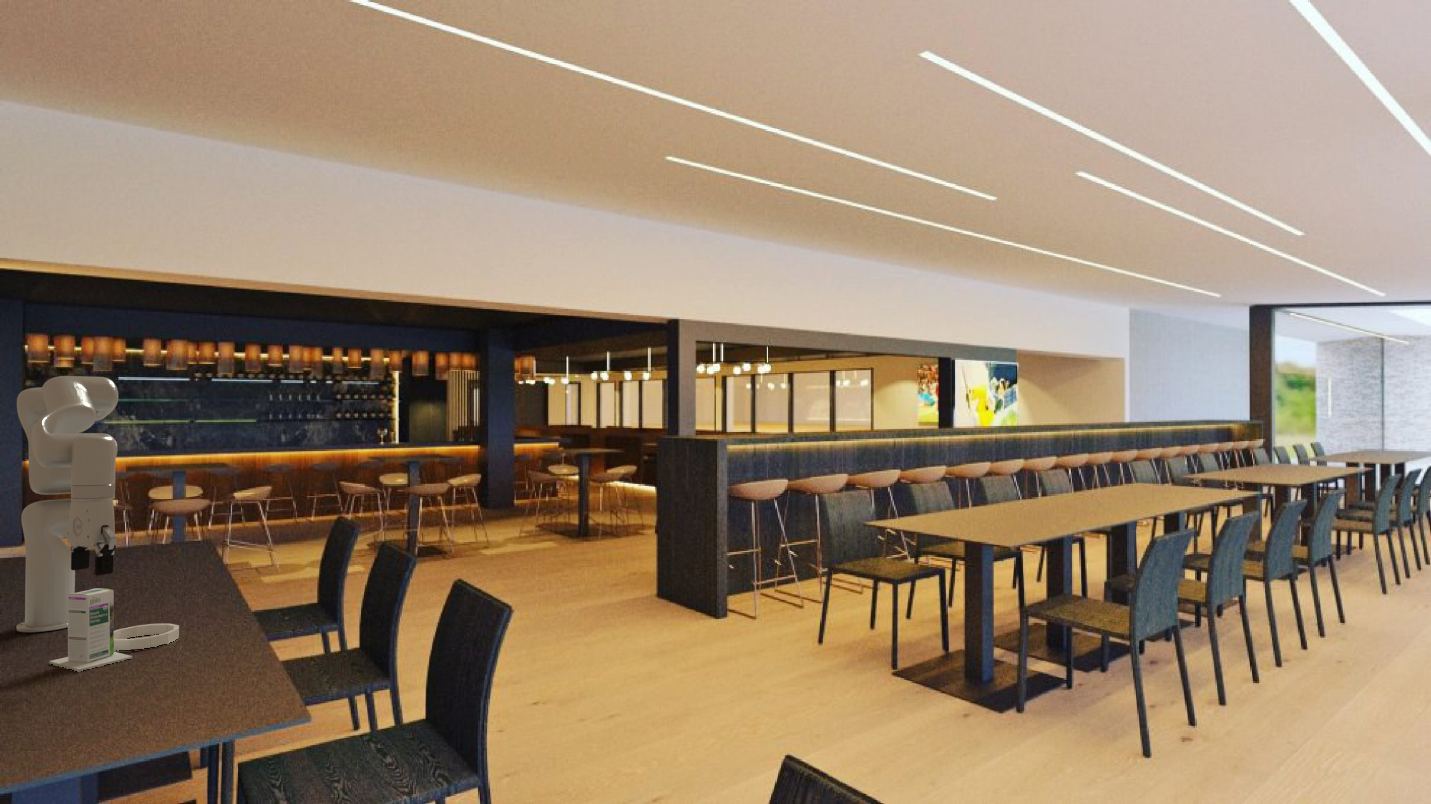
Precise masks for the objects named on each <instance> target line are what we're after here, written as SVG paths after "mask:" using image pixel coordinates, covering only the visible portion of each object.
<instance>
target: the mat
mask: <svg viewBox="0 0 1431 804" xmlns="http://www.w3.org/2000/svg"><path fill="white" fill-rule="evenodd" d="M131 658H132V659H133V655H130V654H129V655H128V654H125V653H120V652H119V651H114V654H113V655H112V656H108V657H105V658H101V659H98V660H94V661H91V662H89V663H83V662H73V661H69V660H68V656H66V657H61V658H57V659H52V660H49V661H48V662H49V665H51V664H53V665H52V666H54V667H58V666H59V668H62V667H64V668H63V669H65V668H66V669H65V670H68V669H72V670H74V671H73V672H75V671H77V672H76V673H82V672H84V671H83V670H86V669H90V670H93V669H92V668H94V669H96V668H95V667H98V668H102V667H105V666H104V665H106V664H110V665H113V664H112V663H114V664H116V663H115V662H118V663H121V662H120V661H122V662H125V661H124V660H126V659H131ZM132 659H131V660H132ZM126 661H127V660H126ZM101 666H102V667H101ZM106 666H107V665H106ZM72 670H71V671H72ZM81 671H82V672H81ZM86 671H87V670H86Z"/></svg>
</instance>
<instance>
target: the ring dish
mask: <svg viewBox="0 0 1431 804" xmlns="http://www.w3.org/2000/svg"><path fill="white" fill-rule="evenodd" d="M154 634H155V635H154ZM156 634H159V635H156ZM144 635H150V636H144ZM136 636H137V637H136ZM138 636H142V637H138ZM130 637H135V638H130ZM127 638H130V639H127ZM178 638H180V625H178V624H173V623H149V624H139V625H134V626H130V627H124V628H119V629H115V630H114V652H120V651H119V650H131V649H143V650H145V649H144V648H150V647H155V648H158V647H157V646H159V645H162V644H167V645H170V644H171V643H170V642H172V643H173V641H174V642H176V641H177V640H176V639H178ZM175 640H176V641H175ZM178 640H179V639H178ZM169 643H170V644H169ZM159 647H160V646H159ZM150 649H151V648H150ZM116 650H117V651H116Z"/></svg>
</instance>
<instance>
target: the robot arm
mask: <svg viewBox="0 0 1431 804" xmlns="http://www.w3.org/2000/svg"><path fill="white" fill-rule="evenodd" d="M118 401H119V390H118V387H117V385H116V384H115V383H114V381H113V380H112V379H110V378H108V377H104V376H86V375H85V376H83V375H82V376H81V375H80V376H79V375H76V376H75V375H59V376H55V377H52V378H50V379H48V380H47V381H45V382H44V383H43V384H42V387H31V388H26V389H24V390H22V391H21V392H20V393H19V394H18V396H17V398H16V411H17V415H18V419H19V422H20V424H21V427H22V428H23V430H24V432H25V435H26V437H27V442H28V482H29V487H30V489H31V490H32V492H34V494H39V495H65V494H70V498H61V499H46V500H39V501H35V502H32V503H30V504H28V505H27V506H26V507H24V509H23V510H22V512H21V526H22V531H23V537H24V544H25V545H24V546H25V589H24V590H25V597H24V599H25V600H24V607H25V608H24V621H22V622H20V623H18V624H17V625H16V631H17V632H19V633H41V632H49V631H56V630H62V629H63V630H64V629H66V628H67V629H68V595H69V594H72V593H76V592H75V591H76V590H75V589H76V588H75V587H76V584H75V583H76V571H78V570H79V571H80V570H85V569H89V567H90V551H91V550H90V549H89V548H92V547H93V549H94V550H95V553H96V555H97V556H95V557H94V575H95V576H103V575H104V576H105V575H109V574H113V572H114V555H115V552H116V551H115V549H116V547H117V546H116V544H117V541H118V536H117V535H116V534H115V531H116V530H115V528H116V525H115V507H114V500H115V499H116V466H117V465H116V462H117V461H116V460H117V459H116V458H117V455H118V450H119V449H118V443H117V441H116V440H115V438H114V437H113V436H112V435H110V434H108V433H102V432H96V433H95V432H94V433H93V432H91V433H90V432H88V433H84V432H85V431H87V430H88V429H90V428H91V427H92V426H93V425H94V424H95V422H97V421H102V420H104V418H106V417H107V416H109V415H110V414H111V413H112V412H113V411H114V410H115V408H116V407H117V405H118ZM64 538H66V541H67V543H68V544H69V545H68V544H67V543H66V542H64V541H63V539H64Z"/></svg>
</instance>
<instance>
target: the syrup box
mask: <svg viewBox="0 0 1431 804" xmlns="http://www.w3.org/2000/svg"><path fill="white" fill-rule="evenodd" d="M114 597H115V596H114V590H113V589H110V588H104V587H103V588H101V587H100V588H91V589H88V590H84V591H83V590H82V591H78V592H75V593H72V594H69V595H68V627H67V657H68V660H69V661H73V662H83V663H89V662H91V661H94V660H98V659H101V658H105V657H108V656H112V655H113V654H114V652H115V651H114V631H115V630H114V629H115V628H114V623H115V622H114V621H115V620H114V618H115V615H114V614H115V613H114V607H115V606H114V599H115V598H114Z"/></svg>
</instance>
